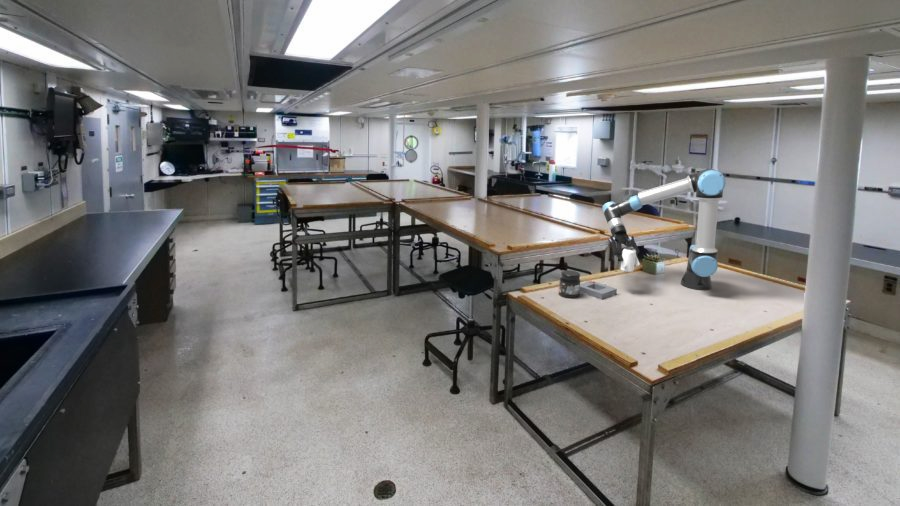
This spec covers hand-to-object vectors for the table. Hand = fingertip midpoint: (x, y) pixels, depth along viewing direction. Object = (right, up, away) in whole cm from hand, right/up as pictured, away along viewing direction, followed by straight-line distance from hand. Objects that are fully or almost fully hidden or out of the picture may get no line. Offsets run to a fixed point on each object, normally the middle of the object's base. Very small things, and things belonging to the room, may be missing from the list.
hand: (631, 266), depth 238 cm
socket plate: (-16, -14, +7) cm, 23 cm away
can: (-1, -3, +4) cm, 5 cm away
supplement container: (-32, -15, +3) cm, 35 cm away
